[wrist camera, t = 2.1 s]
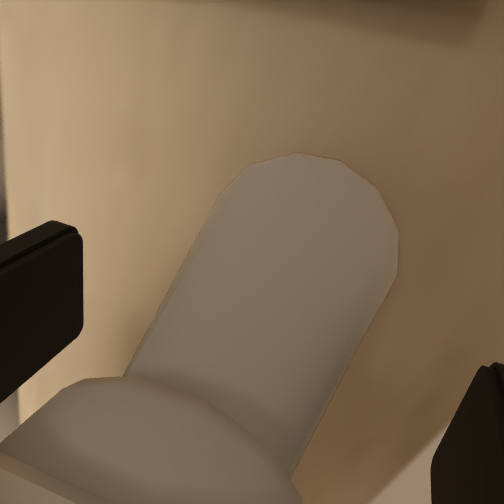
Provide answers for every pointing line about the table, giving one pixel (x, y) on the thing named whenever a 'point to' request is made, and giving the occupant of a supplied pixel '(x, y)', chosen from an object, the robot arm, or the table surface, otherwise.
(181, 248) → the table surface
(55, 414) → the salt shaker
